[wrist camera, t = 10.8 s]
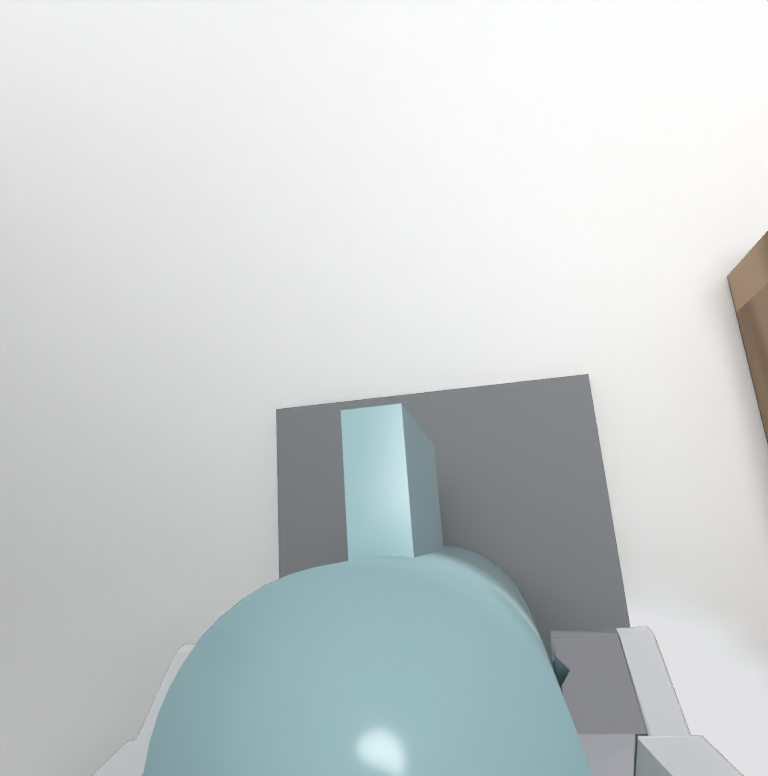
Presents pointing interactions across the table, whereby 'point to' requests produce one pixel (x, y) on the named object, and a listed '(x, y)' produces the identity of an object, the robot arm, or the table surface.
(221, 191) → the table surface
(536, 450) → the mat
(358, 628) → the pale blue domed cylinder
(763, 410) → the holder
